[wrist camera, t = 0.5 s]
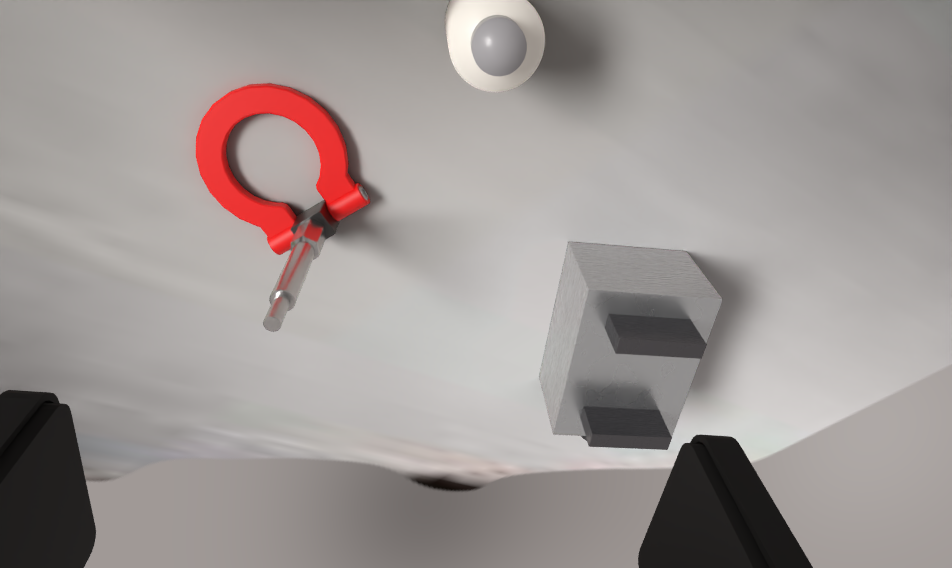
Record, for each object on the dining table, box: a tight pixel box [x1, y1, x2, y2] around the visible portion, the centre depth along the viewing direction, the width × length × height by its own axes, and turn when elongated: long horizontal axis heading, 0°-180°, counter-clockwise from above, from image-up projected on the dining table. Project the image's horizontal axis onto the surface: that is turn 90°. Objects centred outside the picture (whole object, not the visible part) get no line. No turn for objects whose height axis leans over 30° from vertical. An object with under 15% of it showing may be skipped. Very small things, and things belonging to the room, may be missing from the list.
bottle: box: [445, 0, 545, 92], centre depth 31 cm, size 4×4×7 cm
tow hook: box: [196, 83, 370, 332], centre depth 32 cm, size 8×13×9 cm
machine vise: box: [539, 242, 723, 450], centre depth 41 cm, size 13×8×8 cm, turn 173°
